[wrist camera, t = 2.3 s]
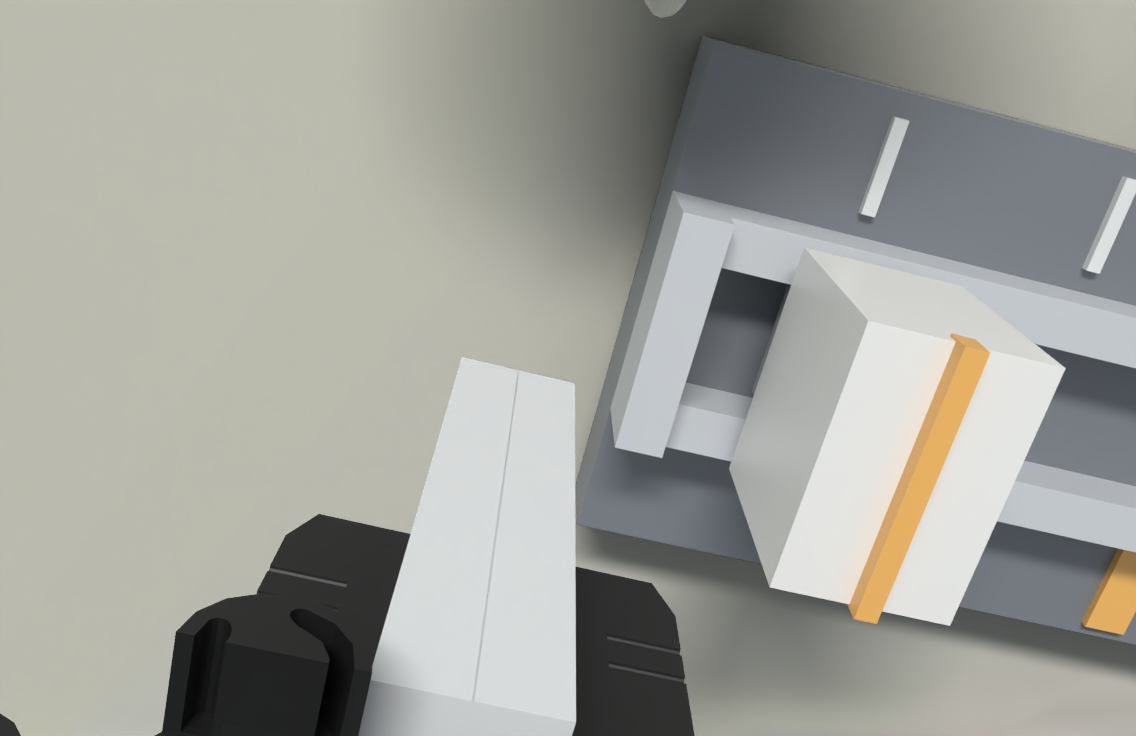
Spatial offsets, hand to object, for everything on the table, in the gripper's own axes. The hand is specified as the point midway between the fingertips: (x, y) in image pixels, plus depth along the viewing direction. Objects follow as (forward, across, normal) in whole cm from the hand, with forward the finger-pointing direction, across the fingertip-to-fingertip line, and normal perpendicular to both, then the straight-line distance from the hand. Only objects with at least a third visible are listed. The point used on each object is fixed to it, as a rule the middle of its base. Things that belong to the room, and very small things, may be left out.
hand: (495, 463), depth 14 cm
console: (+11, +12, 0) cm, 16 cm away
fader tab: (+8, +7, 0) cm, 11 cm away
